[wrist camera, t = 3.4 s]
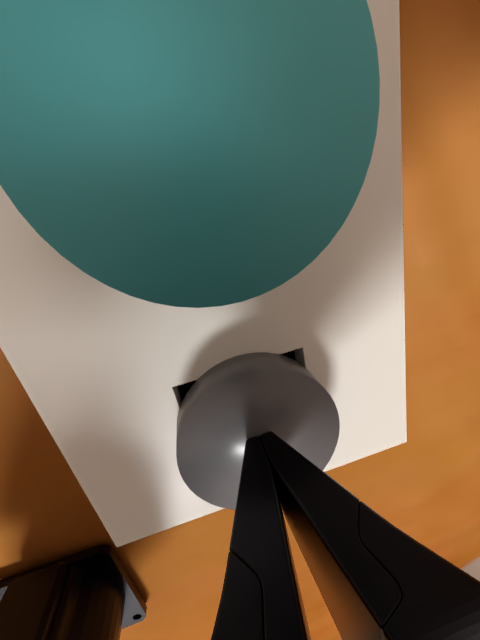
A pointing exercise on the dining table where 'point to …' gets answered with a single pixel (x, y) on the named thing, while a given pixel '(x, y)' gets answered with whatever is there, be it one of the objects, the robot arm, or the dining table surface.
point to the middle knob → (187, 136)
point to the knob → (250, 420)
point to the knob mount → (211, 340)
